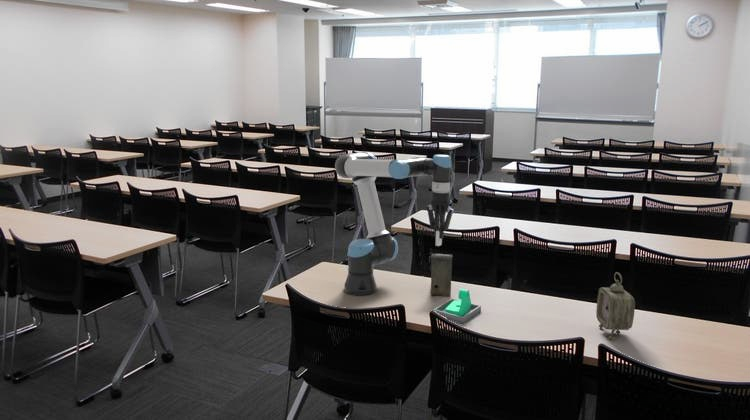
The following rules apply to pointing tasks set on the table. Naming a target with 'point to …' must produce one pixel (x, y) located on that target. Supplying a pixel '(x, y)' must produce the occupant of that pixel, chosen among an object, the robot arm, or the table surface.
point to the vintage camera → (441, 274)
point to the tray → (461, 319)
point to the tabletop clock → (615, 308)
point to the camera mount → (460, 304)
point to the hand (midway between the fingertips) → (438, 245)
